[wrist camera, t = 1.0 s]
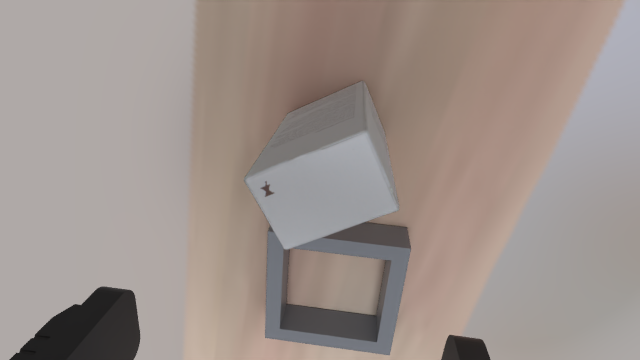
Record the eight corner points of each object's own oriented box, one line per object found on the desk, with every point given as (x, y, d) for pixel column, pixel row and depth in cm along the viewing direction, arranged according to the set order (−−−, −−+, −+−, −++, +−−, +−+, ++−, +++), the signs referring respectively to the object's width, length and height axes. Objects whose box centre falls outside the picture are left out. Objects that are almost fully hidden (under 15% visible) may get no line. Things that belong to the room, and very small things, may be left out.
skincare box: (312, 163, 30) (281, 254, 19) (287, 112, 29) (238, 178, 18) (388, 133, 28) (402, 213, 18) (366, 77, 27) (365, 126, 16)
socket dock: (276, 211, 32) (267, 231, 29) (407, 227, 31) (410, 248, 29) (272, 312, 36) (265, 337, 33) (387, 328, 36) (389, 355, 33)
